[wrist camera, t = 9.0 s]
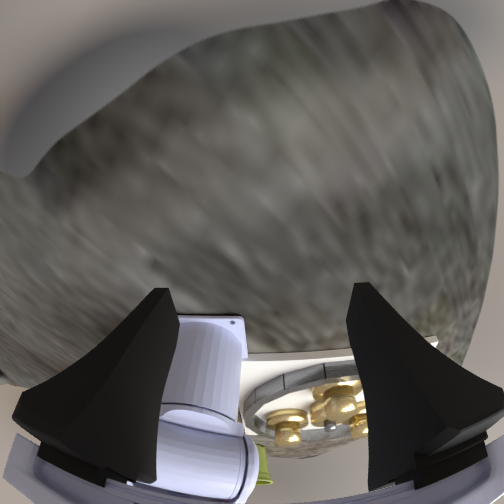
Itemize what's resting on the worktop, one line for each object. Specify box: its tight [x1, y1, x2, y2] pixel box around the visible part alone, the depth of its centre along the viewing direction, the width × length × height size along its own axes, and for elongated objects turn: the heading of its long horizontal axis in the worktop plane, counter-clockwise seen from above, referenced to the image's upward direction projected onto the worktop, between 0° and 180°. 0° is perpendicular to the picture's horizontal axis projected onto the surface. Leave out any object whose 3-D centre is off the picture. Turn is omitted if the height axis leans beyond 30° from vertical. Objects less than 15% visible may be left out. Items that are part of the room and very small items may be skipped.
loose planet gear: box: [312, 380, 362, 421], centre depth 27 cm, size 6×6×4 cm
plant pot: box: [255, 444, 273, 485], centre depth 43 cm, size 9×9×9 cm
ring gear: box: [243, 360, 360, 442], centre depth 31 cm, size 22×22×2 cm
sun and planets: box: [266, 400, 368, 447], centre depth 31 cm, size 17×9×4 cm, turn 93°
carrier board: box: [238, 335, 439, 435], centre depth 33 cm, size 24×24×1 cm
